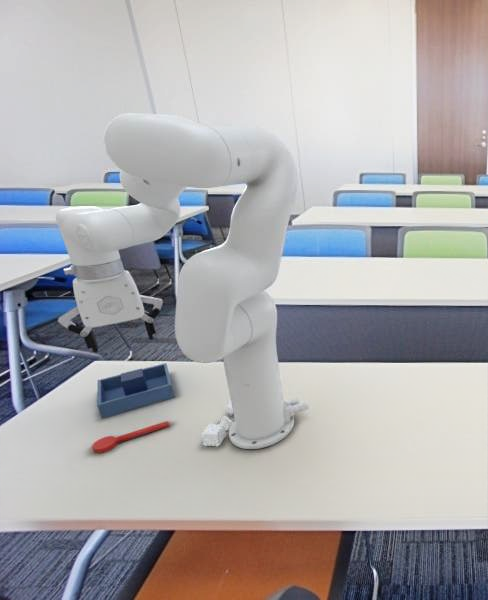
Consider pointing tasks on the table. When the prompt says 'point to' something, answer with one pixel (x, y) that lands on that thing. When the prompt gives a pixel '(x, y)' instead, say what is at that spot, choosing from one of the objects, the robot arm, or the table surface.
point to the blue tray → (117, 402)
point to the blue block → (133, 382)
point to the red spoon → (124, 438)
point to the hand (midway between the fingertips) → (124, 343)
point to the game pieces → (217, 429)
